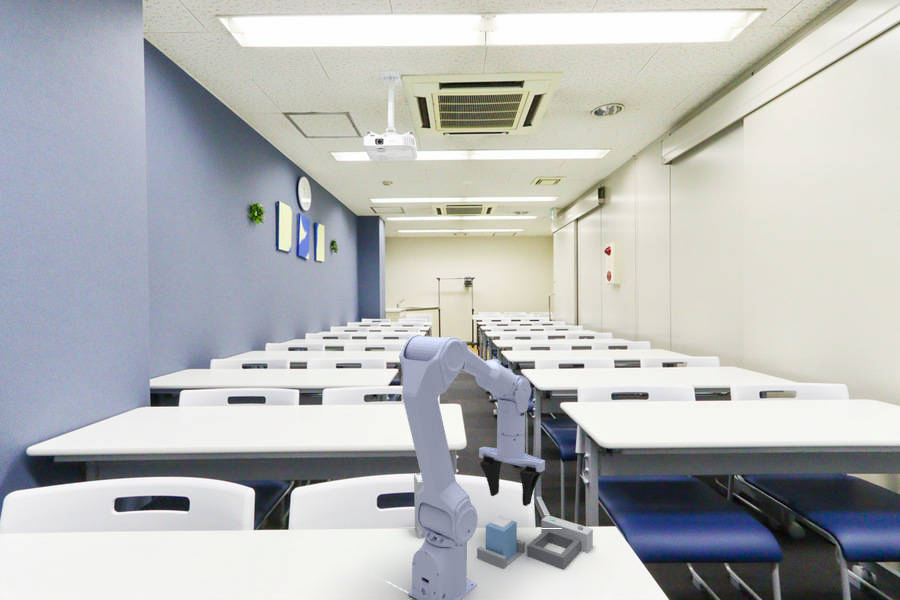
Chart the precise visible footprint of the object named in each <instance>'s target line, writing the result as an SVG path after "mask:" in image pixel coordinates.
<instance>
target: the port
mask: <svg viewBox="0 0 900 600" xmlns="http://www.w3.org/2000/svg"><path fill="white" fill-rule="evenodd" d="M540 522H541V523H540V526H541V528H562V529H541V528H540V529H541V530H540V531H541V532H540V534H539V535H538V536H536V537H535V538H534V539H533V540H531V542H529V543H528V544H527V545H526V546H527V547H526V549H527V552H526V556H527V557H528V558H530V559H534V560H536V561H539V562H542V563H544V564H547V565H550V566H551V567H554V568H558V569H559V570H560V569H561V570H562V571H564V570H565V569H566V568H567V567H568V565H570V563H572V561H573V560H574V559H575V558H576V557H577V556H578V555H579V554H580V553H581V552H583V553H585V554H588V553H589V552H590V551H591V549H593V546H594V545H593V543H594V542H593V541H594V540H593V539H594V535H593V533H594V530H593V528H591V527H588V526H584V525H581V524H578V523H576V522H571V521H568V520H565V519H562V518H558V517H555V516H553V515H548V514H546V516H544V517H543V518H542V519H541V521H540ZM548 544H552V545H555V546H557V547H561V548H562V549H563V551H562V552H561V553H559V552H555V551H553V550H550V549H547V548H545V547H547V545H548Z"/></svg>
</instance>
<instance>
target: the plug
mask: <svg viewBox="0 0 900 600" xmlns="http://www.w3.org/2000/svg"><path fill="white" fill-rule="evenodd" d="M517 523H518V522H517V521H514V520H513V519H510V518H507V517H505V516H502V515H498V517H497V516H496V517H495V519H493V520H491V521H489V523H487V524H486V525H485V549H488V550H490V551H493V552H495V553H498V554H501V555H503V556H506V557H507V560H508V559H509V558H511V557H512V556H513V555H514V554H516V553H517V540H518V539H517V530H518V529H517V528H518V527H517V525H518V524H517Z"/></svg>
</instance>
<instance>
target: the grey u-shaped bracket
mask: <svg viewBox="0 0 900 600" xmlns="http://www.w3.org/2000/svg"><path fill="white" fill-rule="evenodd" d="M525 543H526V542H525V541H523V540H520V539H517V553H516V554H514V555H513V556H512V557H511V558H509V559H508V560H507V557H506V556H503V555H501V554H498V553H495V552H493V551H490V550H488V549H486V547H482V546H479V547H477V548H476V558H477V560H480V561H483V562H486V563H488V564H490V565H493V566H495V567H496V568H497V567H498V568H499V569H503V570H505V569H506V568H507V567H508V566H509V565H511V564H512V563H513V562H514V561H516V559H518V558H519V557H520V556H521V555H522V554H524V553H525V549H526V548H525V547H526V544H525Z"/></svg>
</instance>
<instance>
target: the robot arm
mask: <svg viewBox="0 0 900 600" xmlns="http://www.w3.org/2000/svg"><path fill="white" fill-rule="evenodd" d="M398 358H399V362H400V366H401V367H400V368H401V371H402V375H403V376H402V390H401V391H402V400H403V405H404V409H405V413H406V417H407V422H408V426H409V429H410V434H411V438H412V443H413V446H414V451H415V454H416V455H415V456H416V459H417V463H418V468H419V470H420V471H419V473H421V476H422V480H423V485H424V486H423V487H421V489H420V490H419V491H418V493H417V494H416V500H417V510H416V519H417V522H418V524H419V525H420V526H421V527H423V535H425V538H424V541H423V543H422V545H421V546H420V548H419V549H418V550H417V551H416V552H415V553H414V555H413V557H412V562H411V563H412V567H411V574H412V575H411V577H412V578H411V589H410V590H408V593H407V594H408V596H410V597H412V598H414V599H415V600H462V598H464V597H465V596H466V595H467V594H469V593H470V592H472V591H473V590H474V589H475V588H476V587H477V586H478V583H476V582H475V581H473V580H471V579H468V577H467V576H468V574H467V573H468V570H467V569H468V544H467V543H468V542H469V541H470V540H471V538H473V536H474V535H475V533H476V530H477V526H478V511H477V508H476V507H475V506H474V505H473V504H472V501H471V499H470V495H469V493H468V492H466V490H465V489H464V488H463V487H462V486H461V485H460V484H459V483H458V482H457V481H456V480H457V479H456V475H455V471H454V466H453V461H452V459H451V458H452V457H451V452H450V448H449V444H448V439H447V434H446V430H445V425H444V421H443V416H442V412H441V408H440V404H439V403H440V402H439V396H440V395H442V394H443V393H446V392H447V390H448V389H449V387H450V386H451V384H452V383H453V382H454V380H455V379H456V378H457V376H459V374H460V373H461V371H463V372H465V373H467V374H470V375H471V376H474V378H475V379H474V380H475V382H476V384H477V385H478V386H479V387H480V388H481V389H484V390H485V391H487V392H489V393H491V395H492V398H493V399H494V400H496V401H497V415H496V416H497V420H496V421H497V424H496V426H497V427H496V430H497V431H496V434H497V435H496V444H497V445H496V447H488V446H482V447H479V449H478V457H479V458H480V459H482V460H481V461H480V463H479V466H480V467H481V470H482V471H483V474H484V475H485V477H486V481H487V484H488V488H489V493H490V496H491V497H494V496H497V495H499V490H500V472H501V467H502V463H506V464H510V465H514V466H518V467H521V468H525V469H523V470H521V471H519V475H520V479H521V486H522V498H521V501H522V505H523V506H525V507H528V506H529V505H531V503H532V499H533V494H534V490H535V487H536V485H537V482H538V480H539V478H540V476H541V475H542V473H543V472H544V471H545V470H546V460H545V459H541V458H539V457H535V456H533V455H530V454H528V453H526V451H525V450H526V412H527V411H528V409H529V401H530V398H531V395H532V387H531V383H530V381H529V379H527V377H525V376H524V375H518V374H517V375H516V374H515V373H514V372H513V370H512V369H511V368H507V367H505V366H504V365H502V364H501V363H502V361H501V360H500V359H495V358H492V359H486V360H484V359H483V358H482V357H480V355H478V354H477V353H475V352H474V351H472V349H470V348H469V347H468V343H467V342H465V341H462V340H461V339H460V338H458V337H455V336H450V337H441V336H439V337H438V336H425V335H424V336H423V335H421V334H420V335H419V334H415V335H411V336H410V337H409V338H408V339H407V340H406V342H404V345H403V346H402V349H401V351H400V353H399V355H398Z"/></svg>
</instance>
